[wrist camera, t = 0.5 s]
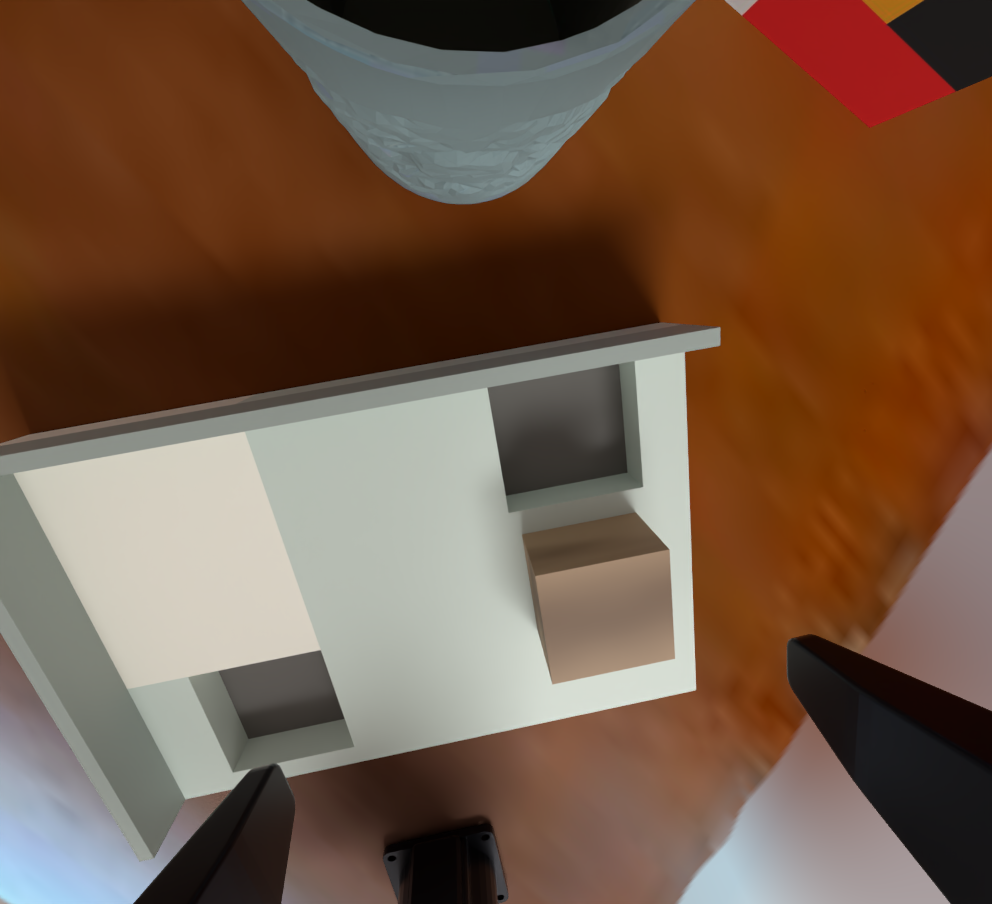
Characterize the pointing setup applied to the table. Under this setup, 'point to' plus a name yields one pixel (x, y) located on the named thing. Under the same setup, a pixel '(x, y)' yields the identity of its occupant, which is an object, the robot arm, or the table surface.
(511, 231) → the table surface
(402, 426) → the tray
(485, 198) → the grey cup
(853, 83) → the puzzle toy
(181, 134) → the table surface
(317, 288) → the table surface
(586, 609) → the block
